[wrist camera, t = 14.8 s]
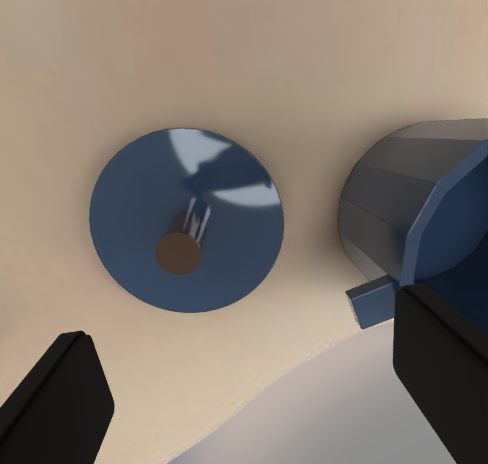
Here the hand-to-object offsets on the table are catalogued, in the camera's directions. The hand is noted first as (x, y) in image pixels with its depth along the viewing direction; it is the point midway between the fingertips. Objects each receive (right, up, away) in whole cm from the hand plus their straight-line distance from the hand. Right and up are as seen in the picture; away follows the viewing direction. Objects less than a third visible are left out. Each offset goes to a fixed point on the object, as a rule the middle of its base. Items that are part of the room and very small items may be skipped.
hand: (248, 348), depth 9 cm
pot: (+15, +5, +18) cm, 24 cm away
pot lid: (-5, +4, +16) cm, 18 cm away
